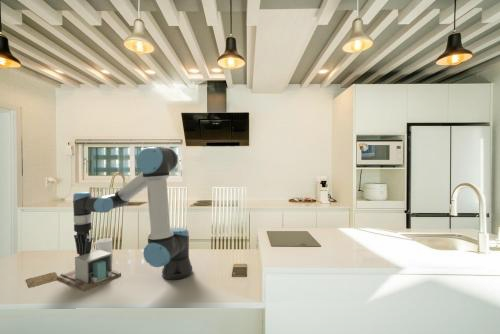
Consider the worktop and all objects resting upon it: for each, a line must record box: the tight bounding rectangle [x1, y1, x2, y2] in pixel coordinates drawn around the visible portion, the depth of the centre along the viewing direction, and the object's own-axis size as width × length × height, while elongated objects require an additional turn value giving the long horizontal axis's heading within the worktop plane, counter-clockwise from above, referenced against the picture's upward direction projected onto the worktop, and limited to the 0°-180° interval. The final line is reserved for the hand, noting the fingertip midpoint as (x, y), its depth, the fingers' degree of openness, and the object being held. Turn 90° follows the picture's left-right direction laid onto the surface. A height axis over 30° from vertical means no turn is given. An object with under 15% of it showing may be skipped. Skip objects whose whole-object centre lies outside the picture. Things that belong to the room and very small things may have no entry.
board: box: [57, 269, 122, 292], centre depth 133 cm, size 24×18×3 cm
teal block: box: [93, 260, 106, 281], centre depth 129 cm, size 4×4×8 cm
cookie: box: [25, 272, 60, 289], centre depth 130 cm, size 12×12×1 cm
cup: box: [91, 237, 113, 254], centre depth 160 cm, size 8×12×10 cm
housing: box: [74, 249, 113, 283], centre depth 131 cm, size 10×12×10 cm
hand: (83, 268), depth 135 cm, fingers closed
